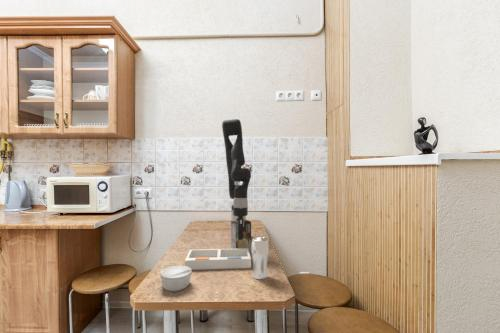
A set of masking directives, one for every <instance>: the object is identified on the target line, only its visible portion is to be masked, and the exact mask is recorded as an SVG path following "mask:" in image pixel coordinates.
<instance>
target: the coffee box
mask: <svg viewBox="0 0 500 333" xmlns="http://www.w3.org/2000/svg"><path fill="white" fill-rule="evenodd" d="M239 229H242V228H239ZM243 230H244V231H243V239H242V240H239V239H238V223H237V221H230V249H239V248H248V249H249V253H250V254H251V253H252V252H251V247H252V221H250V220H248V219H246V220H244V228H243Z"/></svg>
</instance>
